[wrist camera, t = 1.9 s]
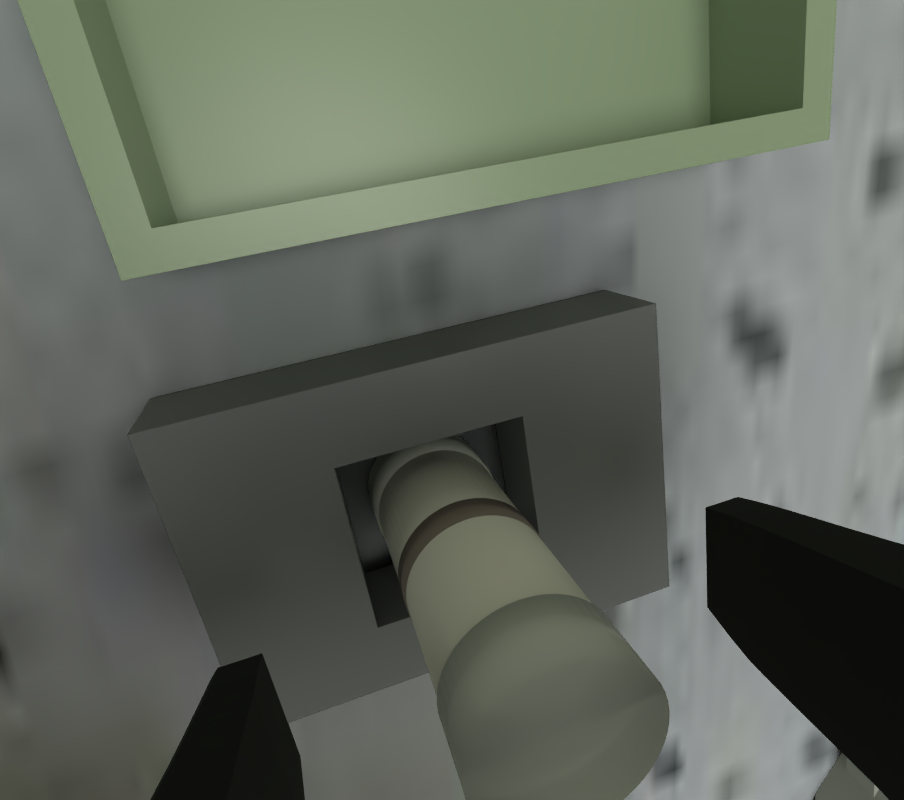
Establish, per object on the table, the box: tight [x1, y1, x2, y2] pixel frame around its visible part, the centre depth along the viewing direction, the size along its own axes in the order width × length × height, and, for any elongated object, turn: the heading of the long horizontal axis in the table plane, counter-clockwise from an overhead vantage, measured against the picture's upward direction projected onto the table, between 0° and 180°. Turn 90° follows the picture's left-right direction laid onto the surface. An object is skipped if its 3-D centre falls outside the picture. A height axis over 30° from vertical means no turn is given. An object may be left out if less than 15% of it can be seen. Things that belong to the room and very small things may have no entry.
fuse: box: [368, 435, 669, 800], centre depth 11 cm, size 3×3×8 cm
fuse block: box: [127, 290, 669, 723], centre depth 13 cm, size 10×7×2 cm
